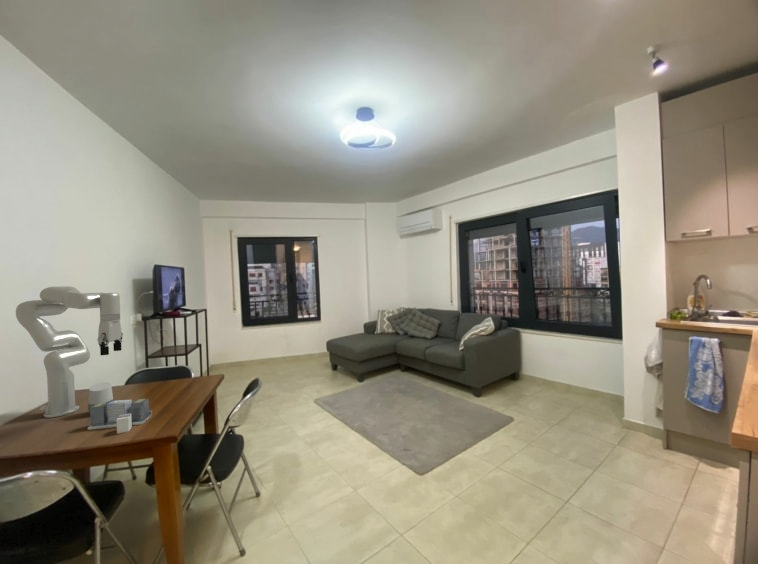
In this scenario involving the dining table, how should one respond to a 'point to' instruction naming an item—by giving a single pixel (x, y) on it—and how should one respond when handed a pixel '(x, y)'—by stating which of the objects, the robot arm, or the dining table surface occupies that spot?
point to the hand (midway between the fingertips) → (111, 352)
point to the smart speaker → (100, 394)
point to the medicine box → (118, 409)
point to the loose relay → (124, 423)
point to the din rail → (101, 421)
